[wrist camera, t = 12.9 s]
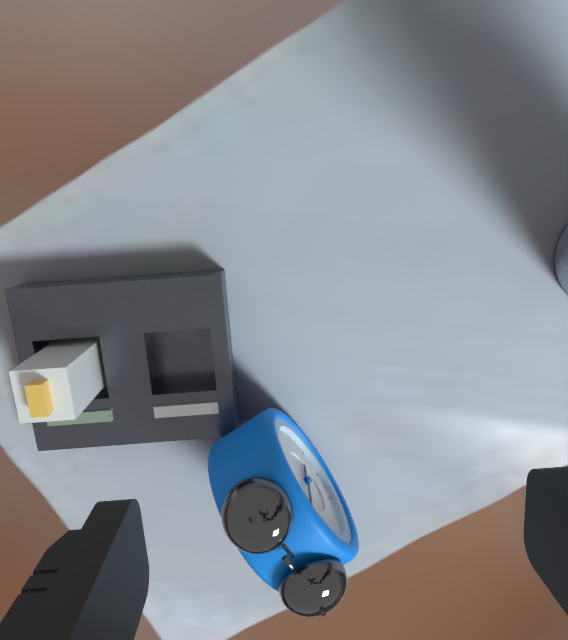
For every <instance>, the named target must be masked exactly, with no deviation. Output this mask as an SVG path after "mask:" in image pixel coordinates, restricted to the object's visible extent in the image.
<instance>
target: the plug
mask: <svg viewBox="0 0 568 640" xmlns="http://www.w3.org/2000/svg"><path fill="white" fill-rule="evenodd" d="M9 374H10V379H11V384H12V389H13V393H14V398H15V403H16V408H17V413H18V418H19V422H20V424H21V423H35V422H49V421H63V420H75V419H76V418H77V417H78V416H79V415H80V414H81V413H82V411H83V410H84V409H85V408H86V407H87V406H88V405H89V403H90V402H91V401H92V400H93V399H94V398H95V397H96V395H97V394H98V393H99V392H100V391H101V390H102V389H103V387H104V386H105V385H106V384H107V382H106V376H105V370H104V364H103V358H102V351H101V345H100V339H99V337H91V338H77V339H62V340H55V341H54V342H52V343H51V344H49V345H48V346H46V347H45V348H43V349H42V350H40V351H39V352H37V353H36V354H34V355H33V356H31V357H30V358H28V359H27V360H25V361H24V362H22V363H21V364H19V365H18V366H16V367H15V368H13V369H12V370H10V371H9Z"/></svg>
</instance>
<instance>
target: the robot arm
mask: <svg viewBox="0 0 568 640" xmlns="http://www.w3.org/2000/svg"><path fill="white" fill-rule="evenodd" d="M555 270H556V274H557V278H558V280H559V282H560V284H561V286H562V288H563V289H564V290H565V291H566V292H567V294H568V225H567V226H566V228H565V230H564V231H563V233H562V235H561V237H560V239H559V242H558V245H557V248H556V254H555ZM524 543H525V548H526V551H527V555H528V558H529V560H530V562H531V564H532V566H533V568H534V570H535V571H536V572H537V574H538V575H539V577H540V578H541V579H542V581H543V582H544V584H545V585H546V586H547V588H548V589H549V590H550V591H551V593H552V595H553V596H554V597H555V599H556V600H557V602H558V603H559V604H560V606H561V607H562V608H563V610H564V611H565V612H566V614H567V615H568V466H567V467H554V468H541V469H532V470H531V471H530V472H529V474H528V477H527V486H526V503H525V521H524ZM148 585H149V563H148V557H147V550H146V544H145V537H144V531H143V524H142V518H141V511H140V506H139V503H138V501H137V500H136V499H128V500H115V501H102V502H97V503H96V504H95V506H94V508H93V509H92V511H91V513H90V515H89V516H88V518H87V520H86V522H85V524H84V525H83V527H82V529H80V530H69V531H68V532H67V533H66V534H64V535H63V536H62V537H61V538H60V539H59V540H57V541H56V542H55V543H54V544H53V545H52V546H50V548H48V549H47V550H46V552H45V553H44V555H43V557H42V558H41V560H40V561H39V563H38V564H37V566H36V568H35V569H34V571H33V575H32V576H30V577H29V579H28V580H27V582H26V583H25V585H24V587H23V588H22V592H21V594H20V595H18V597H17V598H16V599H15V601H14V602H13V604H12V606H11V607H10V609H9V610H8V612H7V614H6V615H5V617H4V618H3V620H2V622H1V623H0V640H134V637H135V634H136V630H137V627H138V624H139V621H140V617H141V614H142V611H143V608H144V604H145V601H146V597H147V593H148Z"/></svg>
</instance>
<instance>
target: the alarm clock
mask: <svg viewBox="0 0 568 640" xmlns="http://www.w3.org/2000/svg"><path fill="white" fill-rule="evenodd" d="M208 473H209V480H210V485H211V489H212V493H213V496H214V499H215V502H216V505H217V508H218V510H219V513H220V515H221V518H222V524H223V528H224V531H225V533H226V535H227V537H228V538H229V540H230V541H231V542H232V543H233V544H234V545H235V546H236V547H237V548H238V550H239V551H240V553H241V554H242V556H243V557H244V559H245V560H246V561H247V563H248V564H249V565H250V567H251V568H252V569H253V570H254V571H255V572H256V574H257V575H258V576H259V577H260V578H261V579H262V580H263V581H265V582H266V583H267V584H268V585H269V586H271V587H272V588H273V589H275V590H277V591H278V592H279V595H280V598H281V600H282V602H283V604H284V605H285V606H286V608H287V609H289V610H290V611H291V612H293V613H294V614H297V615H299V616H305V617H313V616H319V615H322V616H324V615H326V613H327V612H328V611H329V610H331V609H333V608H334V607H335V606H336V605H337V604H338V603H339V602H340V600H341V599H342V598H343V595H344V593H345V591H346V587H347V574H346V570H345V567H344V564H346V563H347V562H349V561H351V560H352V559H353V558H355V557H356V555H357V552H358V546H359V543H358V535H357V531H356V527H355V524H354V521H353V518H352V516H351V513H350V511H349V508H348V506H347V504H346V501H345V499H344V497H343V495H342V493H341V491H340V489H339V487H338V485H337V483H336V482H335V480H334V478H333V476H332V474H331V473H330V471H329V469H328V467H327V466H326V464H325V463H324V461H323V459H322V458H321V456H320V455H319V453H318V452H317V450H316V449H315V447H314V446H313V444H312V443H311V442H310V440H309V439H308V438H307V436H306V435H305V434H304V432H303V431H302V430H301V429H300V428H299V426H298V425H297V424H296V423H295V422H294V421H293V420H292V419H291V418H290V417H289V416H288V415H286V414H285V413H284V412H282V411H281V410H279V409H276V408H268V409H265V410H264V411H262V412H261V413H259V414H258V415H256V416H255V417H253V418H252V419H250V420H249V421H247V422H246V423H244V424H243V425H241V426H239V427H238V428H236V429H235V430H233V431H232V432H230V433H229V434H227V435H226V436H224V437H223V438H221V439H220V440H218V441H217V442H215V443H214V445H213V446H212V448H211V450H210V453H209V457H208Z"/></svg>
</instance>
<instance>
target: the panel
mask: <svg viewBox="0 0 568 640" xmlns="http://www.w3.org/2000/svg"><path fill="white" fill-rule="evenodd" d="M5 292H6V297H7V302H8V307H9V311H10V316H11V321H12V326H13V331H14V336H15V341H16V346H17V351H18V355H19V360H20V364H21V363H22V362H24V361H25V360H27V359H28V358H30V357H31V356H33V355H34V354H36V353H37V352H39V351H40V350H42V349H43V348H45V347H46V346H48V345H49V344H51V343H52V342H54V341H55V340H62V339H77V338H91V337H99V339H100V345H101V351H102V358H103V364H104V370H105V376H106V382H107V384H106V385H105V386H104V387H103V389H102V390H101V391H100V392H99V393H98V394H97V395H96V397H95V398H94V399H93V400H92V401H91V402H90V403H89V405H88V406H87V407H86V408H85V409H84V410H83V411H82V413H81V414H80V415H79V416H78V417H77V418H76V419H75V420H63V421H49V422H35V423H32V424H33V429H34V434H35V438H36V443H37V448H38V451H45V450H59V449H72V448H85V447H98V446H111V445H125V444H138V443H151V442H164V441H177V440H190V439H204V438H217V437H224V436H226V435H227V434H229V433H230V432H232V431H233V430H235V429H236V428H238V423H239V418H238V407H237V397H236V386H235V376H234V366H233V355H232V345H231V334H230V324H229V313H228V303H227V293H226V282H225V272H224V269H223V270H209V271H195V272H181V273H167V274H153V275H138V276H124V277H110V278H96V279H82V280H68V281H53V282H39V283H25V284H21V285H18V286H15V287H12V288H9V289H6V290H5Z"/></svg>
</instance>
